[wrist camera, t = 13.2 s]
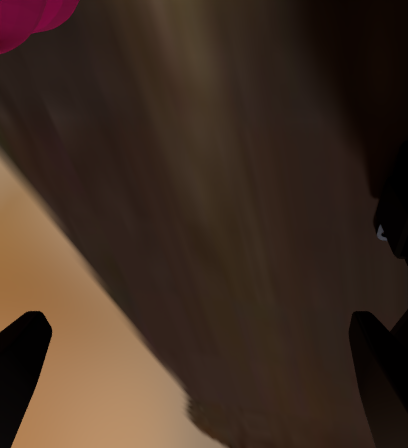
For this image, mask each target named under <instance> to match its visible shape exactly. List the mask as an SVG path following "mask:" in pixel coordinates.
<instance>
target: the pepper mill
mask: <svg viewBox="0 0 408 448" xmlns="http://www.w3.org/2000/svg"><path fill="white" fill-rule="evenodd" d="M78 2H79V0H0V54H2V53H6V52H8V51H10V50H12V49H14V48H16V47H17V46H19V45H20V44H21V43H23V42H24V41H25V40H26V39H27V38H28V37H29V36H30V34H32V33H37V32H42V31H47V30H51V29H54V28H56V27H58V26H59V25H61V24H62V23H63V22H65V21H66V20H67V19H68V18H69V17H70V16H71V15H72V13H73V12H74V10H75V8H76V6H77V4H78Z"/></svg>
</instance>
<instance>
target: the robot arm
mask: <svg viewBox="0 0 408 448" xmlns="http://www.w3.org/2000/svg"><path fill="white" fill-rule="evenodd" d="M407 151H408V140H407V141H405V142H404V143H403V144H402V146H401V147H400V151H399V154H398V157H397V161H396V164H395V167H394V171H393V174H392V175H391V176H389V177H388V178H387V179H386V181H385V185H384V188H383V192H382V195H381V199H380V202H379V205H378V209H377V212H376V215H377V218H378V220H379V221H378V224H377V227H376V235H377V237H378V238H379V239H380V240H385V241H388V243H389V245H390V247H391V250H392V252H393V254H394V255H395V256H396V257H397V258H399V259H405V261H406V263H407V265H408V152H407ZM382 232H384V234H383V233H382ZM51 337H52V328H51V326H50V324H49V323H48V321H47V319H46V318H45V316H44V314H43V313H42V312H40V311H29V312H26V313H24V314H23V315H22V316H20V317H19V318H18V319H17V320H16V321H14V322H13V323H11V324H10V325H9V326H8V327H6V328H5V329H4V330H2V331H1V332H0V448H11V446H12V443H13V441H14V439H15V436H16V434H17V431H18V429H19V426H20V424H21V422H22V419H23V417H24V414H25V412H26V409H27V407H28V405H29V402H30V400H31V397H32V395H33V393H34V390H35V387H36V385H37V382H38V379H39V376H40V373H41V369H42V366H43V363H44V360H45V356H46V353H47V350H48V346H49V343H50V340H51ZM349 341H350V346H351V351H352V357H353V362H354V367H355V372H356V378H357V383H358V388H359V393H360V397H361V401H362V404H363V408H364V411H365V414H366V417H367V421H368V424H369V427H370V430H371V433H372V437H373V440H374V443H375V446H376V448H408V309H407V311H406V312H405V313H404V315H403V316H402V317H401V318H400V320H399V321H398V322H397V323H396V325H395V326H394V327H393V328H392V330H391V331H390V332H389V331H388V330H387V329H386V328H385V326H384V325H383V324H382V323H381V322H380V321H379V320H378V319H377V318H376V317H375V316H374V315H373V314H372V313H370V312H368V311H355V312H353V314H352V318H351V322H350V327H349Z"/></svg>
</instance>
